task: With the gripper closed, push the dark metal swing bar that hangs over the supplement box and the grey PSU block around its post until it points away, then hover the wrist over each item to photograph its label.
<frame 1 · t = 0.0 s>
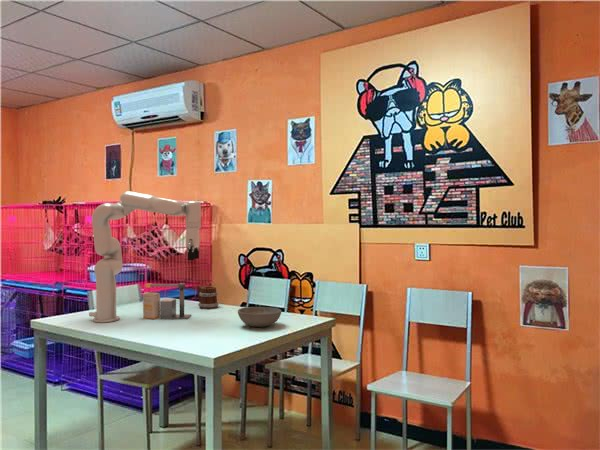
hand: (193, 259, 246), 31 cm above the table, fingers open, 9 cm apart
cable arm: (165, 285, 253), point 17 cm above the table, hinge at 0.0°
post: (181, 317, 253), on the table
bowl: (259, 326, 233), on the table
psu block: (168, 317, 254), on the table
supplement box: (151, 318, 254), on the table
brown wooden barrel: (206, 307, 284), on the table
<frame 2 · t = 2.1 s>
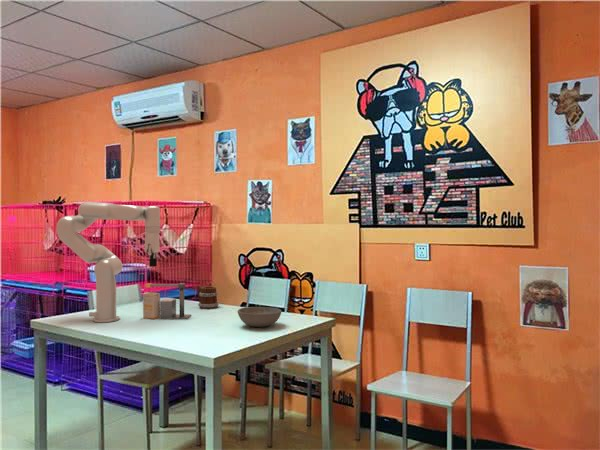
hand: (153, 266, 246), 28 cm above the table, fingers closed
nothing on the table moved.
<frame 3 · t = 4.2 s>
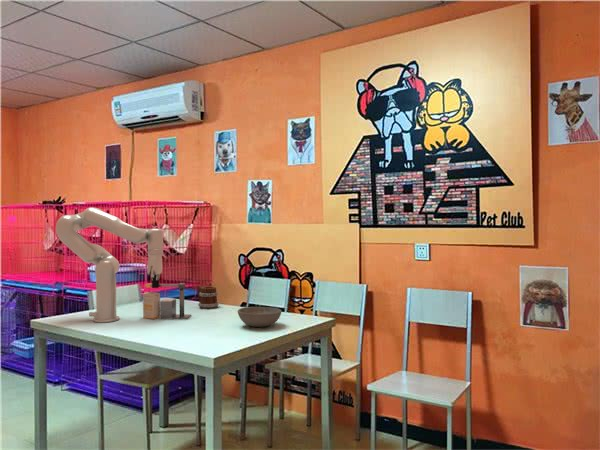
hand: (155, 287, 251), 16 cm above the table, fingers closed
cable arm: (165, 285, 253), point 17 cm above the table, hinge at 0.1°, touching gripper
everything else where it was.
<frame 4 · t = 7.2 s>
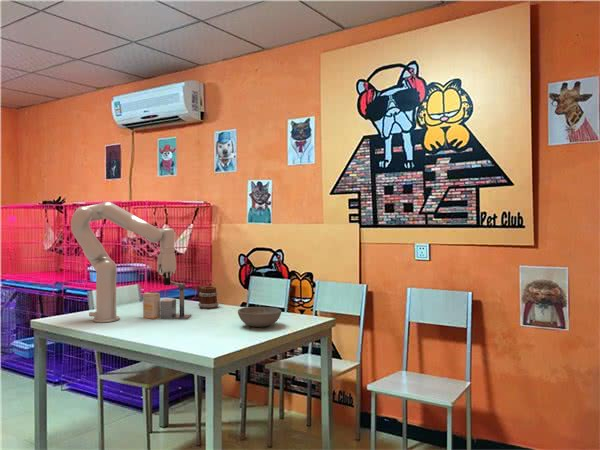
hand: (167, 284, 261), 16 cm above the table, fingers closed
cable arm: (175, 283, 260), point 17 cm above the table, hinge at 50.2°, touching gripper
everything else where it was.
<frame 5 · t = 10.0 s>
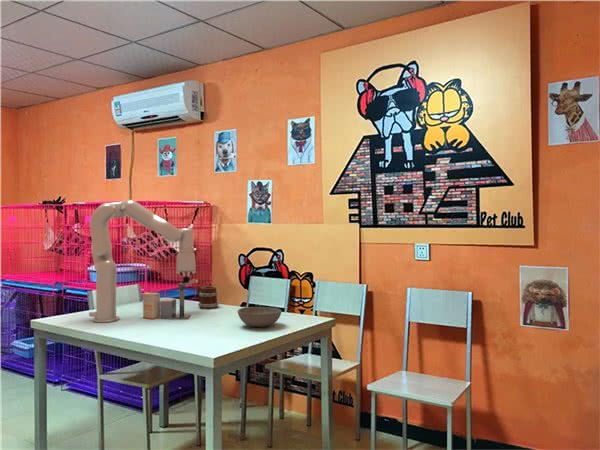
hand: (186, 284, 266), 16 cm above the table, fingers closed
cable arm: (188, 283, 261), point 17 cm above the table, hinge at 97.2°, touching gripper
everything else where it was.
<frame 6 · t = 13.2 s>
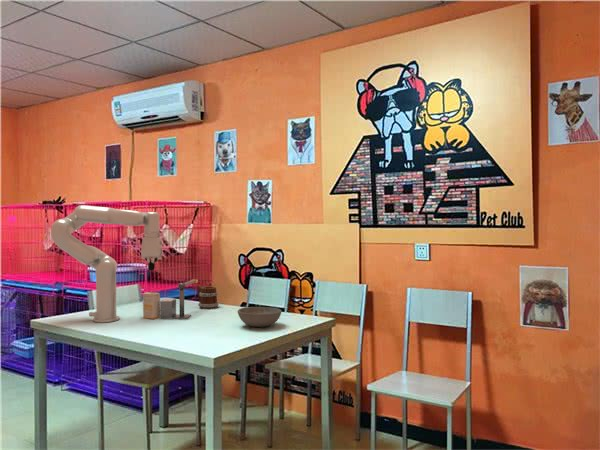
hand: (151, 270, 253), 25 cm above the table, fingers closed
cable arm: (188, 283, 261), point 17 cm above the table, hinge at 97.3°
everything else where it was.
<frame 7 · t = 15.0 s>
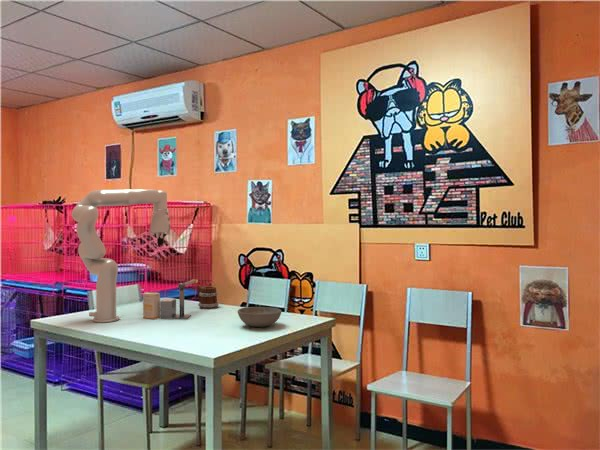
hand: (160, 245, 272), 37 cm above the table, fingers closed
nothing on the table moved.
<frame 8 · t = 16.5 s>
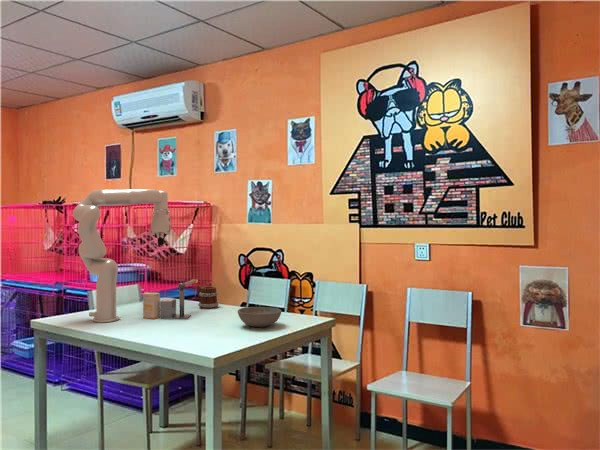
hand: (160, 245, 272), 37 cm above the table, fingers closed
nothing on the table moved.
at the end: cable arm at +97° (first picture: +0°); supplement box tilted 0°; supplement box moved 0.2 cm from its start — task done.
